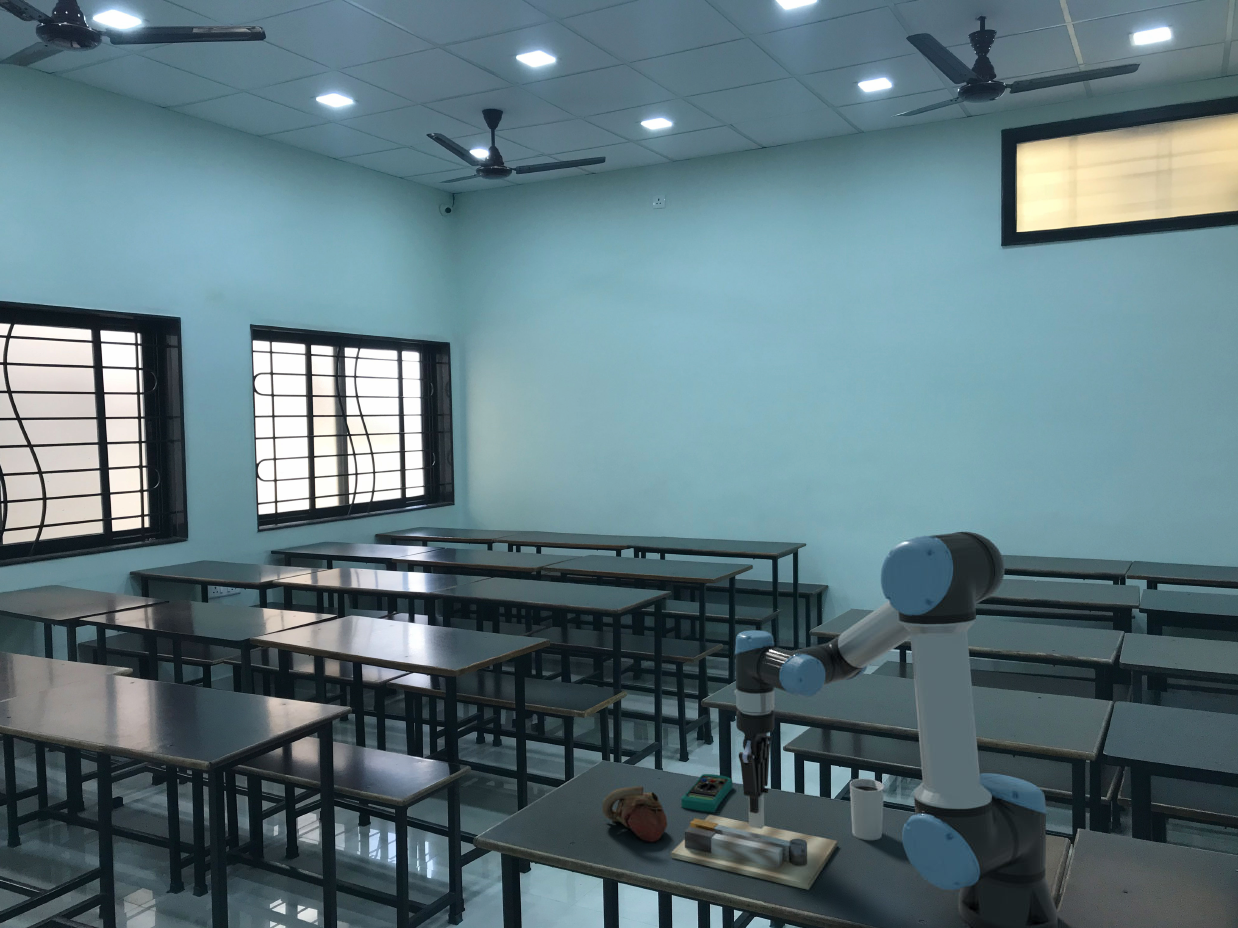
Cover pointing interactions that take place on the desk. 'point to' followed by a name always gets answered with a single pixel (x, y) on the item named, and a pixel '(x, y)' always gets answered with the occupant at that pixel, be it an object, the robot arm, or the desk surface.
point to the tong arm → (760, 840)
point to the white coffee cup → (867, 808)
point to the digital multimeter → (707, 793)
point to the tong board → (761, 871)
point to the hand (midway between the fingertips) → (756, 825)
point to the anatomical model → (637, 812)
